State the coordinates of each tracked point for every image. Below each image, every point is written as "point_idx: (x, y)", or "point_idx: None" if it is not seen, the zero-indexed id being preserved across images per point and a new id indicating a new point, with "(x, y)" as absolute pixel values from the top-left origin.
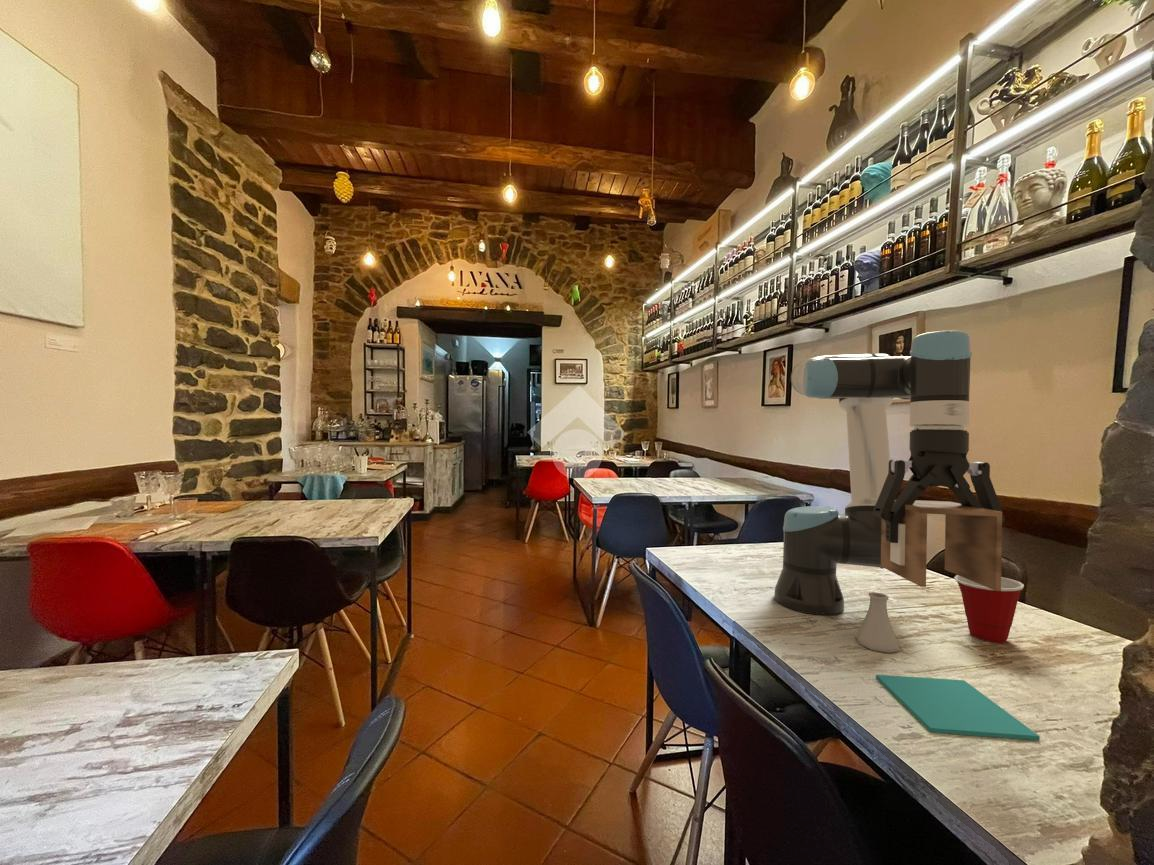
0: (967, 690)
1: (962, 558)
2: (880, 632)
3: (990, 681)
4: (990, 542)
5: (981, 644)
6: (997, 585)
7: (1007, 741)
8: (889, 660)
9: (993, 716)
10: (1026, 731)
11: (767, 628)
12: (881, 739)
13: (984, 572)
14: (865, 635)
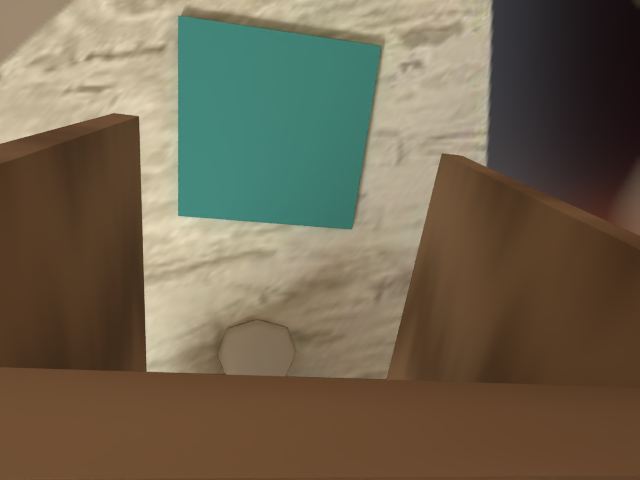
0: (201, 177)
1: (116, 367)
2: (266, 354)
3: None
4: (5, 240)
5: None
6: (121, 118)
7: (249, 16)
8: (274, 293)
9: (221, 84)
10: (193, 31)
11: None
12: (485, 26)
13: (118, 207)
14: (287, 358)
